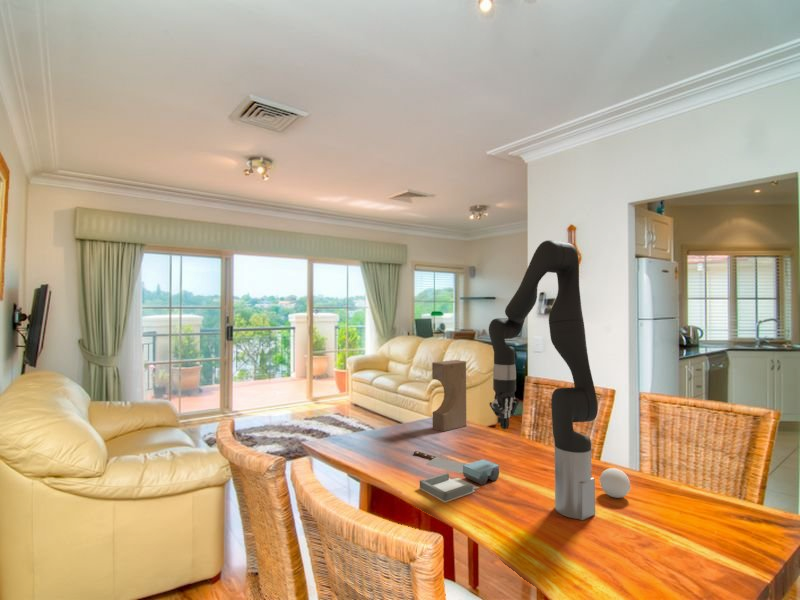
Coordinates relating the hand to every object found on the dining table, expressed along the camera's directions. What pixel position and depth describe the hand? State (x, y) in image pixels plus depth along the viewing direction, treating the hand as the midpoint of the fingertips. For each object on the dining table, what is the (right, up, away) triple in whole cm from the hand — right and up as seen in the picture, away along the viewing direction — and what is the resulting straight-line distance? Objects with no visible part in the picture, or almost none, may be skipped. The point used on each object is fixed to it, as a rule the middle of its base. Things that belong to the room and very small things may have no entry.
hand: (504, 428), depth 145 cm
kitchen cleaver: (-22, -15, +7) cm, 28 cm away
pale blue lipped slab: (-9, -14, -7) cm, 18 cm away
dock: (-20, -14, -15) cm, 29 cm away
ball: (+27, -14, -20) cm, 37 cm away
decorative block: (-13, -15, +52) cm, 56 cm away
